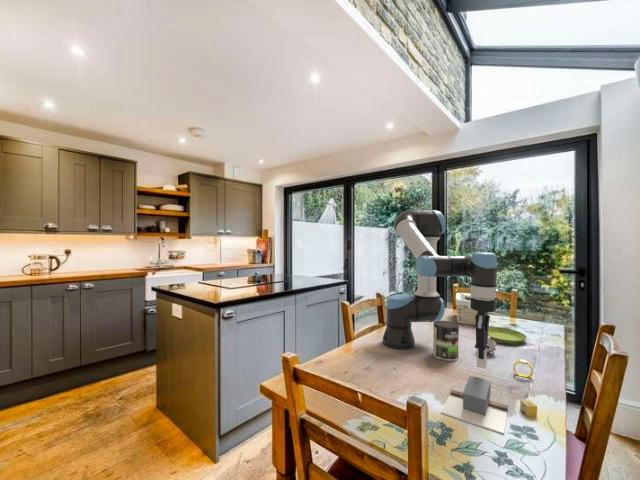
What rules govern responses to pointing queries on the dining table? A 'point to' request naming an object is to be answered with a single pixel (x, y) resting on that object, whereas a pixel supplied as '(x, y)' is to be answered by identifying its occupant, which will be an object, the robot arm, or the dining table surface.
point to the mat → (476, 415)
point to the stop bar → (491, 403)
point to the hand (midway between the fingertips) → (481, 367)
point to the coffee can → (446, 340)
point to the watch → (523, 363)
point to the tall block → (477, 395)
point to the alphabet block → (528, 408)
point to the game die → (491, 344)
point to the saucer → (506, 335)
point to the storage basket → (465, 309)
